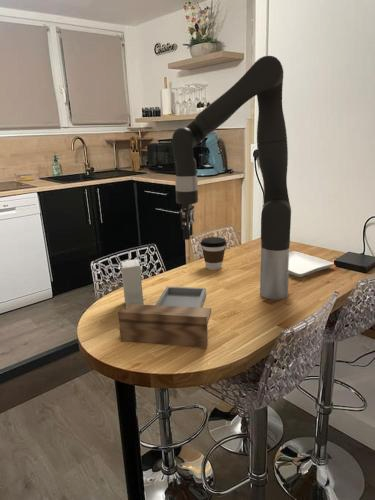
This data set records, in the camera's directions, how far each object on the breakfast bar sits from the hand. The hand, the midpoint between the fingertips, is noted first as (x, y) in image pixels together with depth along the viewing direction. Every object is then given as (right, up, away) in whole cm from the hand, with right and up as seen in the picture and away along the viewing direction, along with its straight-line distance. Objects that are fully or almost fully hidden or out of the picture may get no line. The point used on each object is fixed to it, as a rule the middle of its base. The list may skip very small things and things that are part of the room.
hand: (188, 237), depth 135 cm
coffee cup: (+11, -12, +27) cm, 31 cm away
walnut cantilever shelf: (-6, -29, -27) cm, 40 cm away
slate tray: (-2, -23, -9) cm, 25 cm away
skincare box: (-18, -23, -7) cm, 30 cm away
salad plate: (+45, -12, +23) cm, 52 cm away
